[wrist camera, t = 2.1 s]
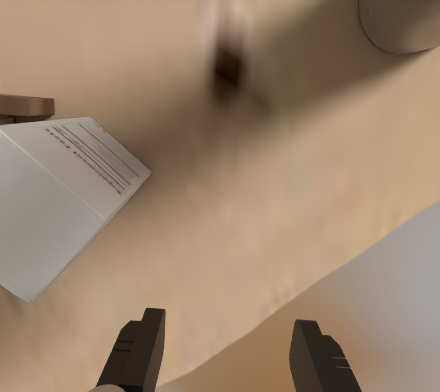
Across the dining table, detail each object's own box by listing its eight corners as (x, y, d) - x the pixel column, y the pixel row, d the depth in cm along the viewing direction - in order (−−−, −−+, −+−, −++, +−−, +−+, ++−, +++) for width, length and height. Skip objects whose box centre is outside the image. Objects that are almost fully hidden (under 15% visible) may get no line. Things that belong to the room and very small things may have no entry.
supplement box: (103, 228, 37) (26, 310, 22) (38, 174, 35) (-91, 226, 21) (155, 172, 35) (108, 222, 20) (89, 112, 33) (-13, 121, 19)
